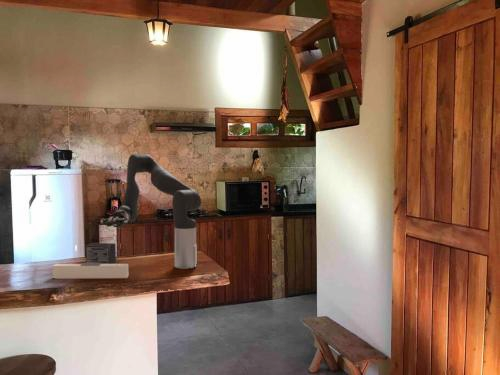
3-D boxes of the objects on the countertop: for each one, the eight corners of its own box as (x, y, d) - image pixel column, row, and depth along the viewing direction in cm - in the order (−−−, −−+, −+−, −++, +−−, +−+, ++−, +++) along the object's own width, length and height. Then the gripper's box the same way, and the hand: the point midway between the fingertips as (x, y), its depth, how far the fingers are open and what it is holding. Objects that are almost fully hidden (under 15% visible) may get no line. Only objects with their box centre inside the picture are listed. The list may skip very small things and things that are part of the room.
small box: (116, 266, 168) (116, 242, 167) (109, 271, 161) (109, 246, 161) (93, 266, 169) (92, 242, 168) (85, 270, 162) (85, 245, 162)
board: (128, 276, 155) (128, 262, 154) (126, 278, 152) (126, 264, 152) (55, 276, 153) (55, 263, 153) (52, 278, 151) (52, 264, 150)
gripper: (105, 210, 192) (93, 215, 174) (132, 210, 193) (123, 216, 175) (105, 225, 192) (93, 232, 175) (132, 225, 193) (123, 232, 176)
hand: (108, 224), depth 175 cm, fingers closed
